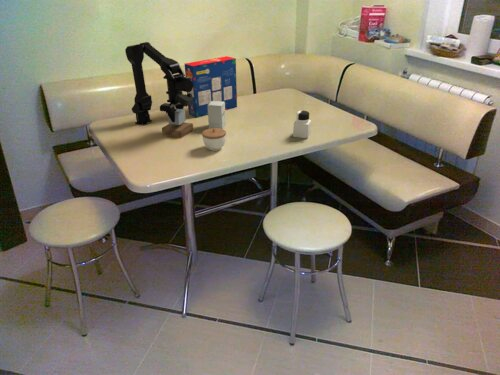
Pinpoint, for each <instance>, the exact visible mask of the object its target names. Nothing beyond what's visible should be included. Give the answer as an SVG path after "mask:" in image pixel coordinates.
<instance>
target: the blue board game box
mask: <svg viewBox="0 0 500 375" xmlns="http://www.w3.org/2000/svg"><path fill="white" fill-rule="evenodd" d="M236 60H237V58H235V57H232V56H229V55H226V56H221V57H215V58H210V59H209V58H208V59H203V60H198V61H191V62H186V63H185V62H184V74H185V77H189V80H191V81H192V83H193V89H192V91H191V92H186V95H187V94H188V93H191V94H192V99H193V100H192V101H191V104H190V105H188V106H187V107H188V110H187V111H188V115H190V116H192V117H194V118H196V119H197V118H201V117H206V116H208V104H209V103H210V102H211V101H222V102H225V111H228V110H232V109H236V108H238V95H237V94H238V93H237V92H238V91H237V90H238V89H237V88H238V87H237V86H238V84H237V61H236Z"/></svg>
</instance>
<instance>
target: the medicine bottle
mask: <svg viewBox="0 0 500 375" xmlns="http://www.w3.org/2000/svg"><path fill="white" fill-rule="evenodd" d="M295 119H296V120H294V122H293V129H292V130H293V133H292V134H293V136H292V137H293V138H299V139H309V137H310V135H311V131H312V130H311V128H312V120H311V119H310V112H309V111H307V110H298V111H297V112H296V116H295Z"/></svg>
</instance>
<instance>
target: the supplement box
mask: <svg viewBox="0 0 500 375" xmlns="http://www.w3.org/2000/svg"><path fill="white" fill-rule="evenodd" d="M207 117H208V118H207V119H208V129H211V128H220V129H223V130H224V127H225V126H226V110H225V102H222V101H211V102H210V103H209V104H208V115H207Z"/></svg>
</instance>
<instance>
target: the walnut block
mask: <svg viewBox="0 0 500 375" xmlns="http://www.w3.org/2000/svg"><path fill="white" fill-rule="evenodd" d="M161 132H162V135H163V136H168V137H174V138H179V139H182V138H184V137H185V136H187V135H189V134H190V133H192V132H194V123H193V122H192V123H191V122H186V121H185V122H183V123H182V124H180V125H177V124H169V123H168V124H166V125H164V126H163V127H161Z"/></svg>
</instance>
